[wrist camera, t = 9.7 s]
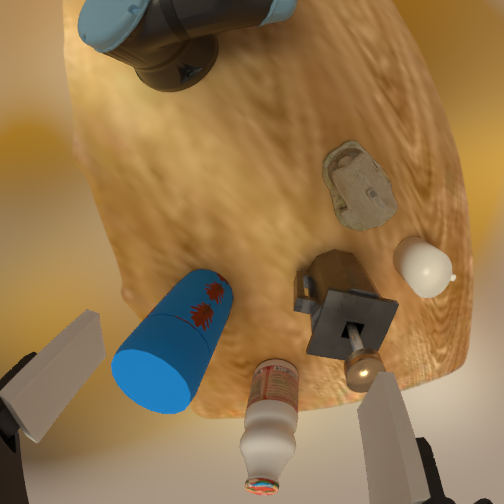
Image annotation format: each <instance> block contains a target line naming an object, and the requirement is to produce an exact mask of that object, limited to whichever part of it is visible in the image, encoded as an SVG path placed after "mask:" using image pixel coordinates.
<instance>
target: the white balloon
mask: <svg viewBox="0 0 504 504" xmlns="http://www.w3.org/2000/svg"><path fill="white" fill-rule="evenodd" d="M393 264H394V267H395V269H396V271H397V272H398V273H399V274H400V275H401V276H402V278H403V279H404V280H405V281H406V282H407V283H408V285H409V286H410V287H411V288H412V289H413V290H414V292H415V293H416V294H417V295H419V296H420V297H423V298H431V297H434V296H437V295H438V294H440V293H441V292H442V291H443V290H444V289H445V288H446V287H447V285H448V283H449V281H450V280H451V281H454V280H455V278H456V275H455V274H453V273H452V265H451V261H450V259H449V258H448V256H447V255H446V254H444V253H443V252H441V251H440V250H438V249H437V248H435V247H434V246H432V245H431V244H429V243H428V242H426V241H425V240H423V239H422V238H420V237H416V236H411V237H407V238H405V239H404V240H402V241H401V242H400V243H399V244H398V246H397V247H396V249H395V251H394V255H393Z"/></svg>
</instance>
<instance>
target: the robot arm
mask: <svg viewBox="0 0 504 504" xmlns="http://www.w3.org/2000/svg"><path fill="white" fill-rule="evenodd" d="M296 5H297V0H86V2H85V3H84V5H83V7H82V10H81V12H80V15H79V19H78V33H79V36H80V38H81V39H82V41H83V42H84V43H86V44H87V45H89V46H91V47H93V48H94V49H95V50H96V51H97V52H100V53H103V54H106V55H108V56H110V57H113V58H115V59H117V60H119V61H121V62H124V63H126V64H128V65H130V66H132V67H134V69H135V71H136V73H137V75H138V77H139V78H140V80H141V81H142V82H143V83H145V84H146V85H147V86H149V87H151V88H153V89H156V90H158V91H162V92H175V91H180V90H183V89H186V88H188V87H191V86H192V85H194V84H196V83H197V82H199V81H200V80H201V79H202V78H203V77H204V76H205V75H206V74H207V73H208V72H209V71H210V69H211V68H212V66H213V64H214V62H215V60H216V57H217V53H218V42H217V39H216V36H215V33H219V32H224V31H229V30H235V29H240V28H247V27H253V26H257V27H261V26H263V25H265V24H270V23H276V22H283V21H285V20H287V19H288V18H290V17H291V16H292V15H293V14H294V12H295V9H296ZM105 357H106V352H105V346H104V341H103V335H102V329H101V324H100V317H99V313H97V312H93V311H90V310H88V309H87V310H85V311H84V312H83V313H82V314H81V315H80V316H79V317H77V318H76V319H75V320H74V321H73V322H72V323H71V324H70V325H69V326H67V327H66V328H65V329H64V330H63V331H62V332H61V333H60V334H58V335H57V336H56V337H55V338H54V339H53V340H52V341H51V342H50V343H49V344H48V345H47V346H45V347H44V348H43V349H42V350H41V351H40V352H39V353H38V354H37V353H35V352H32V353H30V354H28V355H26V356H24V357H23V358H22V359H21V360H20V361H19V362H18V364H16V365H15V366H14V367H13V368H12V370H10V371H9V372H8V373H6V374H5V375H4V377H2V378H1V380H0V504H29V502H28V497H27V492H26V487H25V481H24V475H23V468H22V461H21V452H20V440H19V433H18V429H19V428H21V429H22V431H23V432H24V433H25V435H26V436H28V437H29V438H30V439H32V440H33V441H34V442H36V443H37V444H38V443H39V441H40V440H41V439H42V437H43V436H44V435H45V433H46V432H47V431H48V429H49V428H50V427H51V425H52V424H53V423H54V421H55V420H56V419H57V417H58V416H59V415H60V414H61V412H62V411H63V410H64V408H65V407H66V406H67V404H68V403H69V402H70V400H71V399H72V398H73V397H74V395H75V394H76V393H77V392H78V390H79V389H80V388H81V387H82V385H83V384H84V383H85V382H86V380H87V379H88V378H89V377H90V375H91V374H92V373H93V372H94V371H95V369H96V368H97V367H98V366H99V364H100V363H101V362H102V361H103V360H104V358H105ZM357 412H358V418H359V424H360V430H361V436H362V442H363V449H364V457H365V464H366V472H367V480H368V490H369V499H370V504H455V502H454V501H453V500H452V499H450V498H447V497H445V495H444V492H443V488H442V484H441V480H440V476H439V473H438V469H437V466H436V462H435V459H434V458H433V452H432V449H431V446H430V445H429V443H428V442H427V441H426V439H425V438H424V437H422V438H415V435H414V432H413V429H412V426H411V422H410V419H409V416H408V413H407V410H406V407H405V404H404V401H403V398H402V395H401V392H400V389H399V386H398V384H397V381H396V378H395V375H394V373H393V372H380V371H379V373H378V374H377V376H376V378H375V380H374V382H373V384H372V385H371V387H370V389H369V391H368V393H367V394H366V396H365V398H364V399H363V401H362V403H361V404H360V406H359V408H358V409H357ZM474 504H493V503H492V502H491V501H490V500H489V499H486V498H484V499H480V500H478V501H477V502H475V503H474Z"/></svg>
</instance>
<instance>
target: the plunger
mask: <svg viewBox="0 0 504 504" xmlns="http://www.w3.org/2000/svg"><path fill="white" fill-rule="evenodd" d="M346 327H347V330H348V334H349V337H350V341H351V344H352V348H353V353H351V354H350V355H349V356H348V357H347V358H346V360H345V362H344V371H345V377H346V382H347V386H348V387H349V389H351V390H352V391H354V392H359V393H363V392H368V391H369V389H370V387H371V385H372V384H373V382H374V380H375V378H376V376H377V374H378V373H379V371H380V372H386V370H385V367H384V365H383V362H382V359H381V357H380V354H379V353H378V352H377V351H376V350H374V349H370V348H363V345H362V342H361V339H360V336H359V333H358V330H357V327H356V324H355V322H350V321H347V322H346Z"/></svg>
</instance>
